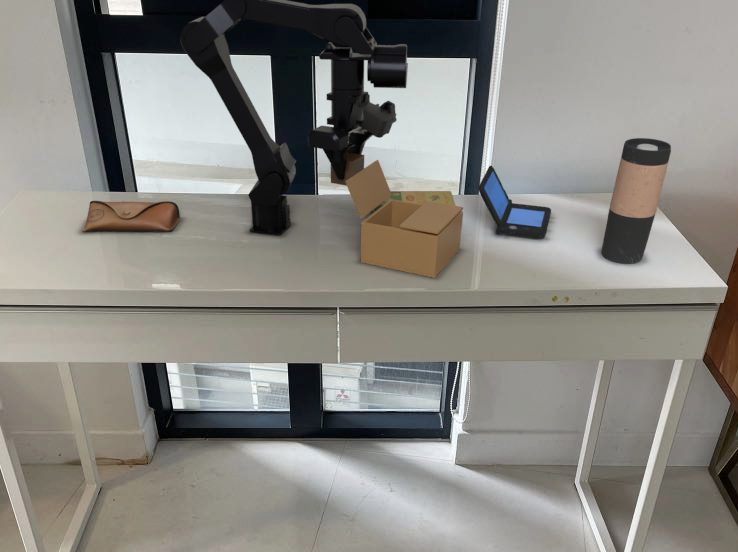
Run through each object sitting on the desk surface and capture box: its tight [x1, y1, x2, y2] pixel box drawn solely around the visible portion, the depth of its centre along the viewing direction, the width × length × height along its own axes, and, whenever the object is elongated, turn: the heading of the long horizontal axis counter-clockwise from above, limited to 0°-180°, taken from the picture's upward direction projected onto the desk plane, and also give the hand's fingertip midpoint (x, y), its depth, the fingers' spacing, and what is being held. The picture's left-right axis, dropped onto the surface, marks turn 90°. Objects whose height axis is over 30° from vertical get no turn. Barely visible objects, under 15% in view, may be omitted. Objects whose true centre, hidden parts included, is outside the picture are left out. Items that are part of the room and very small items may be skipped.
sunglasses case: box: [82, 200, 181, 233], centre depth 142 cm, size 18×7×7 cm, turn 91°
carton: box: [372, 190, 456, 214], centre depth 145 cm, size 8×16×4 cm, turn 88°
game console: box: [478, 165, 552, 240], centre depth 141 cm, size 16×14×9 cm
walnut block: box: [330, 153, 365, 187], centre depth 133 cm, size 5×5×5 cm
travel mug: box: [601, 137, 672, 265], centre depth 125 cm, size 8×8×20 cm
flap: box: [345, 159, 392, 220], centre depth 127 cm, size 7×13×1 cm
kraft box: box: [360, 199, 464, 279], centre depth 128 cm, size 14×13×8 cm
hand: (347, 175), depth 134 cm, fingers closed on walnut block, 4 cm apart
